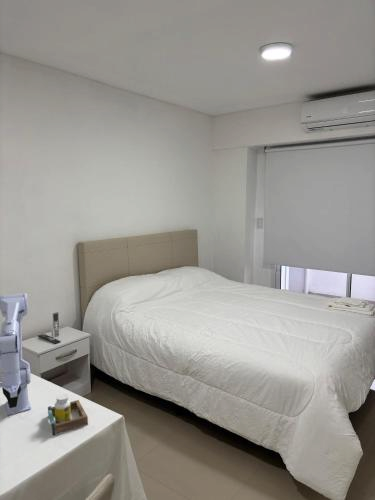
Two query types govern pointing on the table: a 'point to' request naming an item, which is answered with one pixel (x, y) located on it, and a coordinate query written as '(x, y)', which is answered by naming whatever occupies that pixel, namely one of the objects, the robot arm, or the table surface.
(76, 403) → the brown frame
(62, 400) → the supplement bottle
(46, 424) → the table surface
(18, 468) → the table surface
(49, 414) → the swing gate
